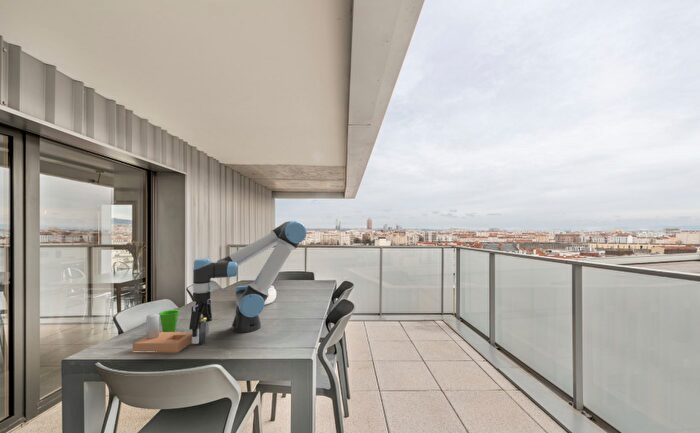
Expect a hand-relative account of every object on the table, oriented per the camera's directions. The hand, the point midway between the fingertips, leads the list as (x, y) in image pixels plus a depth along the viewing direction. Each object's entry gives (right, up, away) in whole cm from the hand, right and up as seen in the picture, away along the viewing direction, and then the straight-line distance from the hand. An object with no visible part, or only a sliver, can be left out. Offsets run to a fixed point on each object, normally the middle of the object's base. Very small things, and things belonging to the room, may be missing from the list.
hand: (200, 339), depth 141 cm
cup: (-23, -3, +13) cm, 27 cm away
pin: (0, -2, 0) cm, 2 cm away
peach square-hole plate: (-15, -2, -3) cm, 15 cm away
